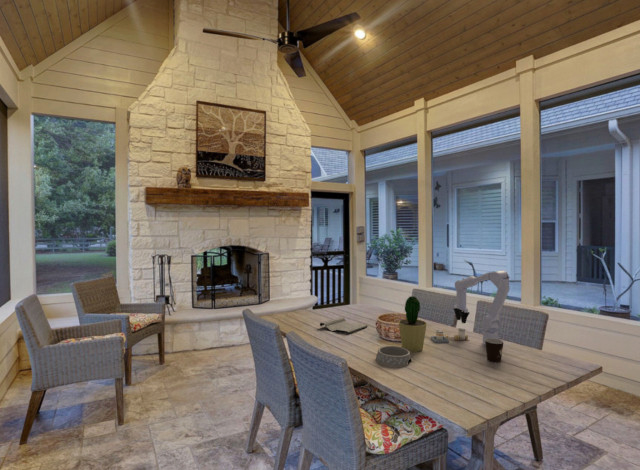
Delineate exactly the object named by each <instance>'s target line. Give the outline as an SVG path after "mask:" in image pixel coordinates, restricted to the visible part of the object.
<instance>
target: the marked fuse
mask: <svg viewBox="0 0 640 470" xmlns="http://www.w3.org/2000/svg"><path fill="white" fill-rule="evenodd" d="M435 336H436V339H435V340H444V339H443V336H444V330H441V329H438V330H436V331H435Z"/></svg>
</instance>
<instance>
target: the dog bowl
mask: <svg viewBox="0 0 640 470" xmlns="http://www.w3.org/2000/svg"><path fill="white" fill-rule="evenodd" d="M375 361H376V363H378V365H382V366H386V367H391V368H405V367H407V366H408V364H409V361H411V362H412V361H413V360H412V356H411V351H408V350H407V349H405V348H402V346H398V345H397V346H396V345H385V346H381V347H379V348H378V349H377V353H376V357H375Z"/></svg>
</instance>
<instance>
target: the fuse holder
mask: <svg viewBox="0 0 640 470" xmlns="http://www.w3.org/2000/svg"><path fill="white" fill-rule="evenodd" d="M444 337H446V338H447V339H448V340H449V342H470V341H471V340H470V339H469V336H468V334H465V340H459V336H458V334H454V336H452V337H449V335H447V334H445V335H444Z"/></svg>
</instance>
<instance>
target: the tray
mask: <svg viewBox="0 0 640 470" xmlns="http://www.w3.org/2000/svg"><path fill="white" fill-rule="evenodd" d="M430 340H431V341H433V342H434V343H435V344H448V343H449V344H450V341H449V340H448V339H447V338H446V337H445V335H443V340H436V335H432V336H430Z"/></svg>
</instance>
